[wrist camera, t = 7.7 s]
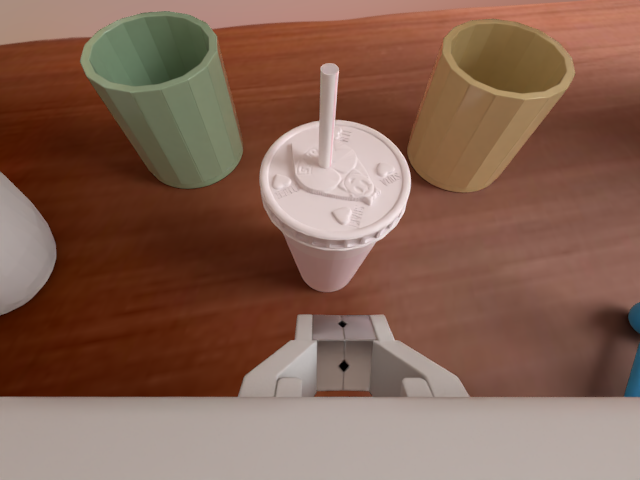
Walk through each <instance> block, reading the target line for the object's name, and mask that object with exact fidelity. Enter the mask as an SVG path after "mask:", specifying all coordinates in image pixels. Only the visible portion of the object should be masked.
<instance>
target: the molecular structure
mask: <svg viewBox="0 0 640 480" xmlns="http://www.w3.org/2000/svg"><path fill="white" fill-rule="evenodd" d="M628 319H629V322H630V325H631V326H632V327H633V329H634V330H635V331H637V332H638V333H639V334H640V302H639V303H637V304H635V305H634V306H633V307H632V308H631V309H630V312H629V315H628ZM624 397H640V342H639V346H638V349H637V353H636V356H635V359H634V363H633V366H632V370H631V373H630V377H629V380H628V384H627V387H626V391H625V394H624Z"/></svg>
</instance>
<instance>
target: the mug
mask: <svg viewBox="0 0 640 480" xmlns="http://www.w3.org/2000/svg"><path fill="white" fill-rule="evenodd" d="M55 260H56V243H55V241H54V238H53V235H52V233H51V230H50V228H49V226H48V223H47V222H46V221H45V219H44V218H43V217H42V215H41V214H40V213H39V211H38V210H37V209H36V207H35V206H34V205H33V203H32V202H31V201H30V200H29V199H28V198H27V197H26V196H25V195H24V194H23V193H22V192H21V191H20V190H19V189H18V188H17V187H16V186H15V185H14V184H13V183H12V182H11V181H10V180H9V179H8V178H7V177H6V176H5V175H4V174H3V173H2V172H1V171H0V315H2V314H5V313H8V312H10V311H12V310H14V309H16V308H18V307H21V306H23V305H24V304H25V303H27V302H28V301H30V300H31V299H32V298H33V297H34V296H35V295H36V294H37V292H38V291H39V290H40V289H41V288H42V287H43V286H44V284H45V283H46V282H47V280H48V278H49V276H50V274H51V272H52V271H53V268H54V264H55Z"/></svg>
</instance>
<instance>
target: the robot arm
mask: <svg viewBox="0 0 640 480" xmlns="http://www.w3.org/2000/svg"><path fill="white" fill-rule="evenodd" d="M342 390H343V391H370V393H371V395H372V396H373V397H314V395H315V394H316V391H342ZM0 480H640V397H470V396H469V395H468V393H467V391H466V390H465V388H464V386H463V385H462V383H461V381H460V380H459V378H458V377H457V376H456V375H454V374H452V373H451V372H449V371H447V370H446V369H444V368H443V367H441V366H439V365H438V364H436V363H435V362H433V361H431V360H430V359H428V358H426V357H425V356H423V355H422V354H420V353H418V352H417V351H415V350H413V349H412V348H410V347H409V346H407V345H405V344H404V343H402V342H401V341H395V339H394V337H393V335H392V332H391V330H390V327H389V325H388V322H387V320H386V317H385V316H384V315H313V322H312V314H304V315H298V316H297V323H296V332H295V340H290V341H289V342H288V343H287V344H285V345H284V346H283V347H281V348H280V349H279V350H277V351H276V352H275V353H274V354H272V355H271V356H270V357H268V358H267V359H266V360H265V361H263V362H262V363H261V364H259V365H258V366H257V367H255V368H254V369H253V370H252V371H250V372H249V373H248V374H246V375H245V376H244V379H243V382H242V385H241V388H240V392H239V395H238V397H0Z"/></svg>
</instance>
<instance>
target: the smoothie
mask: <svg viewBox="0 0 640 480" xmlns="http://www.w3.org/2000/svg"><path fill="white" fill-rule="evenodd" d="M338 75H339V68H338V66H337V65H335V64H332V63H327V64H324V65H322V66H321V74H320V118H319V121H314V122H310V123H307V124H303V125H300V126H298V127H296V128H294V129H292V130H290V131H288V132H287V133H285V134H284V135H282V136H281V137H280V138H278V139H277V140H276V141H275V142H274V143H273V144H272V146H271V147H270V148H269V150H268V151H267V153H266V154H265V156H264V159H263V161H262V164H261V168H260V178H259V179H260V187H261V196H262V201H263V206H264V209H265V210H266V212H267V214H268V216H269V217H270V219H271V221H272V223H273V224H274V225H275V226H276V227H277V228H279V229H280V230H281V231H282V233H283V235H284V237H285V239H286V242H287V244H288V246H289V249H290V251H291V253H292V256H293V258H294V260H295V263H296V265H297V267H298V270H299V272H300V274H301V276H302V278H303V280H304V281H305V283H306V284H307V285H309V286H310V287H311V288H313V289H315V290H317V291H321V292H333V291H337V290H339V289H341V288H343V287H344V286H346V285H347V284H348V283H349V281H350V280H351V278H352V277H353V275H354V274H355V273H356V271H357V270H358V268H359V267H360V265H361V264H362V262H363V261H364V259H365V258H366V256H367V255H368V253H369V252H370V250H371V249H372V247H373V246H374V245H375V243H376V242H377V241H378V240H380V239H382V238H384V237H385V236H386V235H387V234H388V233H389V232H390V231H391V230H392V229H394V228H395V227H396V226H397V224H398V222H399V220H400V219H401V217H402V215H403V214H404V212H405V208H406V203H407V200H408V198H409V194H410V189H411V175H410V170H409V167H408V164H407V162H406V160H405V158H404V156H403V154H402V153H401V151H400V150H399V149H398V148H397V146H396V145H395V144H394V143H393V142H392V141H390V140H389V139H388V138H387V137H385V136H384V135H383V134H381V133H379V132H378V131H376V130H374V129H372V128H370V127H367V126H365V125H362V124H359V123H355V122H351V121H344V120H335V115H336V101H337V88H338Z"/></svg>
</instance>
